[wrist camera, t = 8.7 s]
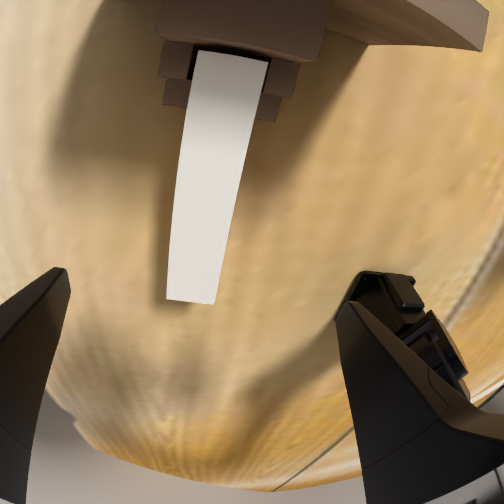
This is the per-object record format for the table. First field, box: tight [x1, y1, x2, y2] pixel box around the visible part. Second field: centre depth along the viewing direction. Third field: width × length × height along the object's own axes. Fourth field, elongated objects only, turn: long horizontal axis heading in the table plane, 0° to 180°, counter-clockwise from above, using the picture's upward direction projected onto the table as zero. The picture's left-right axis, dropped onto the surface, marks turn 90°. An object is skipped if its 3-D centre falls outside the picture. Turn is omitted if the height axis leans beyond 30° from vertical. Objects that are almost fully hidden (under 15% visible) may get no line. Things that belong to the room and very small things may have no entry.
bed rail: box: [166, 50, 268, 305], centre depth 17 cm, size 14×3×5 cm, turn 168°
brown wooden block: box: [156, 0, 489, 123], centre depth 10 cm, size 8×16×10 cm, turn 78°
